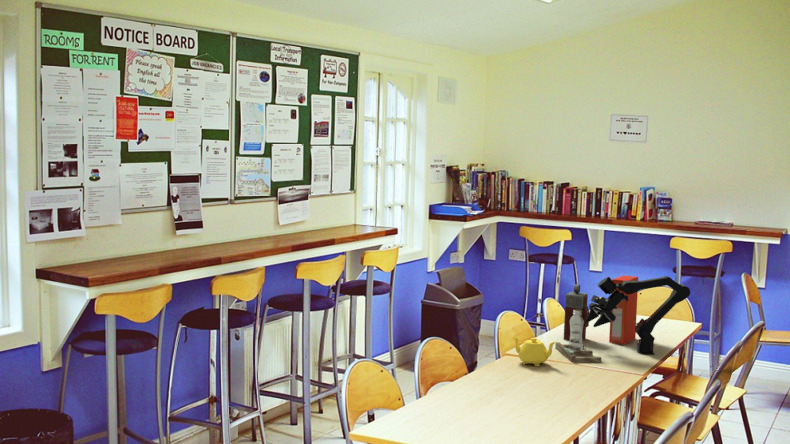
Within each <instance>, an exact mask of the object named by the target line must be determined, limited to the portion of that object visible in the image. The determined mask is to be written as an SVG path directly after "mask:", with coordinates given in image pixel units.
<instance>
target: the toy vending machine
mask: <svg viewBox="0 0 790 444" xmlns="http://www.w3.org/2000/svg"><path fill="white" fill-rule="evenodd" d="M564 299H565V301H564V302H565V303H564V305H565V306H564V318H563V319H564V321H563V322H564V323H563V340H564V341H570V333H571V332H570V319H571V317H572V316H573V315H574V314H573V310H581V313H582V314H581V317H582V318H583V320H584V325H583V331H582V342H583V341H584V340H586V334H587V328H588V327H590V326H589V324H590V322H588V323H586V322H585V320H586V318H587V316H588V314H589V312H590V308H589V305H588V300H589V299H588V293H587V292H581V285H580V284H576V283H575V284H574V285H573V291H569V292H568V293H566V294H565V298H564Z"/></svg>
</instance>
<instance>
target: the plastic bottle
mask: <svg viewBox="0 0 790 444" xmlns="http://www.w3.org/2000/svg"><path fill="white" fill-rule="evenodd" d="M573 314H574V315H573V316H572V317H571V319H570V332H571V333H570V340H569V342H568V344H569V349H570V350H571V351H584V349H583V345H584V344H583V341H582V331H583V325H584V320H583V318H582V317H581V314H582V313H581V310H573Z"/></svg>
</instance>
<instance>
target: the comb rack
mask: <svg viewBox="0 0 790 444" xmlns="http://www.w3.org/2000/svg"><path fill="white" fill-rule="evenodd" d="M555 342H556V343H554V344H555V350H557V351H558V353H560V354H561V355H562V356H564V358H566V359H568V361H569V362H570V363H602V357H601V356H593V353H594V352H593V350H585V344H583V350H582V351H571V350H570V349H569V343H568V344H567V343H565V344H563V343H561V342H558V341H555Z"/></svg>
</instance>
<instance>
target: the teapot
mask: <svg viewBox="0 0 790 444" xmlns="http://www.w3.org/2000/svg"><path fill="white" fill-rule="evenodd" d="M512 338H514V340H515V342H514V343H515V344H514V345H515V348H514V349H515V351H516V353H517V354H518V355H517V356H518V358H519V360H520V362H522V365H523V364H527V365H528V364H533V365H534V367H536V366H539V367H540V366H541V364H540V363H543V364H544V363H545V362H547V360H548V358H550V356H552V353H553V346H554V344H556V342H557V341H553V342H550V343H549V344H548V345H549V346H548V349H547V347H546V346H545V344H544V342H543V341H541V340H540V339H538V338H536V337H530V339H526V340H525V341H524V342H523V343H522V344H521V345H520V342H519V341H520V340H519V339H518V337H517V336H515V335H512Z"/></svg>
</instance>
